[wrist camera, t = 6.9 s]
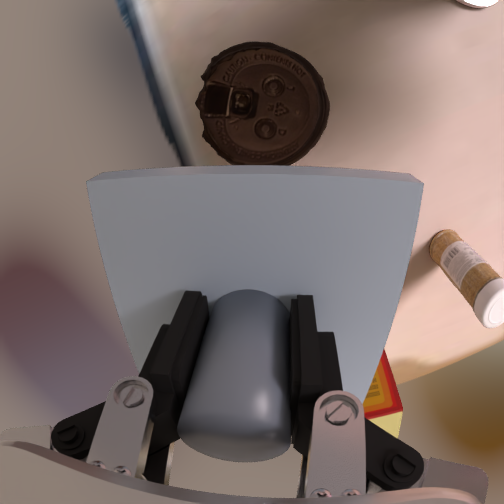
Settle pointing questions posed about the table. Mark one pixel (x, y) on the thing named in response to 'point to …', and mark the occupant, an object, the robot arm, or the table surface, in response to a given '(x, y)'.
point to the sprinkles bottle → (470, 276)
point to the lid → (255, 279)
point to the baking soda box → (384, 399)
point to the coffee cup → (262, 105)
